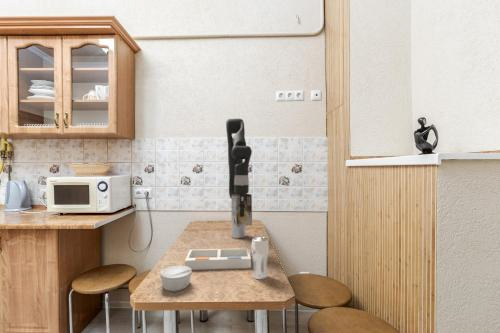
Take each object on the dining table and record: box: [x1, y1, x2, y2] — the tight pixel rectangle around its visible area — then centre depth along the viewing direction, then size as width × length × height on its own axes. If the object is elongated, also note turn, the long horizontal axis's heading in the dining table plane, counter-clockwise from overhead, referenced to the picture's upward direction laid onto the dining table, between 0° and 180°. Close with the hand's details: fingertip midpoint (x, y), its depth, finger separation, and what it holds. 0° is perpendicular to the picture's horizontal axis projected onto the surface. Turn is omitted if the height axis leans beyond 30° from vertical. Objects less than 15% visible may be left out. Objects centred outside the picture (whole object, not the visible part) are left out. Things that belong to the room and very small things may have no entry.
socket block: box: [184, 247, 252, 271], centre depth 114 cm, size 14×28×4 cm, turn 95°
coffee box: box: [231, 193, 253, 227], centre depth 129 cm, size 9×6×16 cm
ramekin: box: [160, 265, 193, 292], centre depth 91 cm, size 11×11×5 cm
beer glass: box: [250, 236, 270, 281], centre depth 99 cm, size 7×7×15 cm
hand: (241, 214), depth 129 cm, fingers closed on coffee box, 8 cm apart
